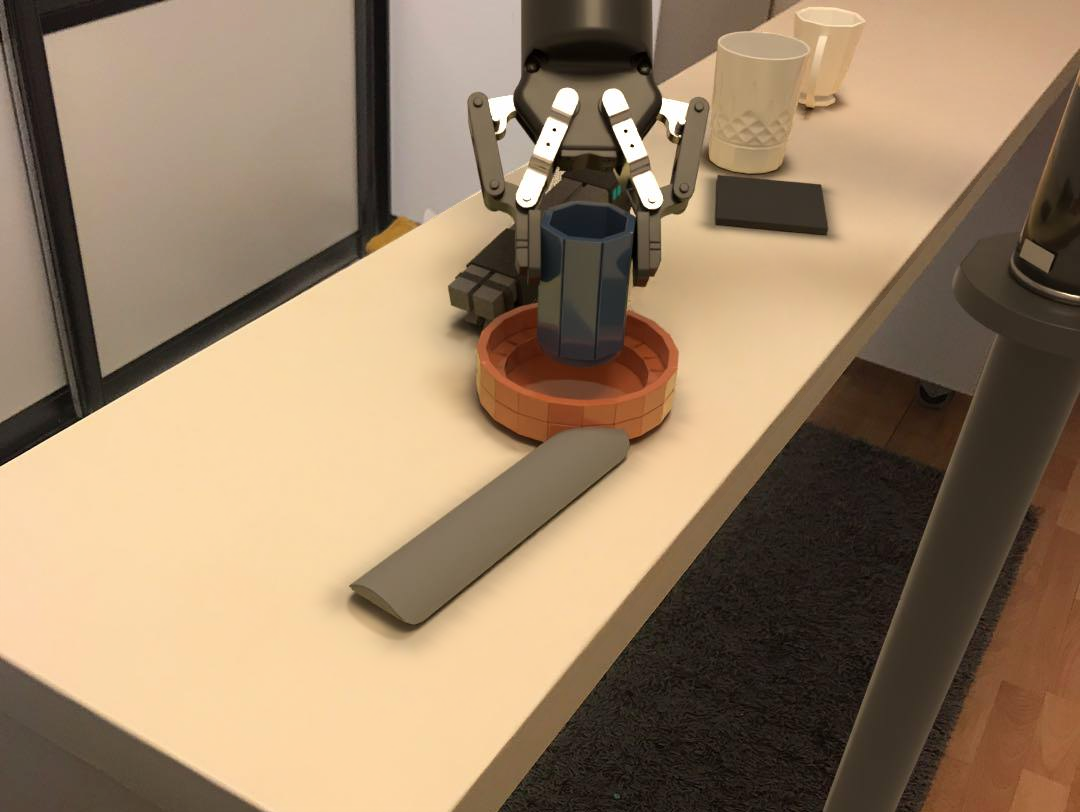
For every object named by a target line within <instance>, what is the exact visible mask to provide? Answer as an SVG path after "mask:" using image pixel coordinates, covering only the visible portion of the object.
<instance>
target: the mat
mask: <svg viewBox="0 0 1080 812" xmlns="http://www.w3.org/2000/svg"><path fill="white" fill-rule="evenodd" d="M715 197H716V199H715V225H720V226H731V227H742V228H752V229H761V230H772V231H783V232H793V233H801V234H802V233H804V234H815V235H824V236H827V235H828V231H829V225H828V219H827V212H826V206H825V199H824V194H823V187H822V184H820V183H809V182H799V181H787V180H780V179H779V180H778V179H768V178H767V179H766V178H756V177H745V176H734V175H723V174H717V177H716V193H715Z"/></svg>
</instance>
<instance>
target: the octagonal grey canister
mask: <svg viewBox="0 0 1080 812" xmlns="http://www.w3.org/2000/svg"><path fill="white" fill-rule="evenodd" d="M635 217H636V216H635V214H632V213H631V212H630V213H628V212H626V211H625V210H623V209H621V208H619V207H617V206H615V205H614V204H611V205H610V203H601V202H589V201H576V202H575V201H571V202H567V203H564V204H561V205H557V206H554V207H550V208H547V209H546V210H545V211H544V214H543V217H542V220H541V280H540V285H538V298H537V303H538V314H537V341H538V343H539V344H540V347H541V350H542V351H543V353H544V354H545V355H546V356H547V357H548V358H550V359H552V360H553V361H555V362H558V363H560V364H564V365H568V366H573V367H595V366H600V365H604V364H607V363H609V362H611V361H613V360H614V359H616V358H617V357H618V356H619V355H620V353H621V351H622V349H623V347H624V340H625V334H626V324H627V313H628V309H629V301H630V289H631V279H632V257H633V246H634V235H635V224H636V218H635Z"/></svg>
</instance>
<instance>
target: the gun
mask: <svg viewBox="0 0 1080 812" xmlns="http://www.w3.org/2000/svg"><path fill="white" fill-rule="evenodd" d="M560 178H561V179H560V180H559V181H558V182H557V183H556V184H555V185H554V186H553V187H552V188H550V190H548V191H546V193H545V195H544V197H543V200H542V202H541V204H540V207H539V209H538V210H541V220H542V217H543V214H544V211H545V210H546V209H547V208H550V207H554V206H557V205H561V204H564V203H567V202H571V201H575V202H576V201H589V202H601V203H610V205H611V204H614V205H615V206H617V207H619V208H621V209H623V210H625V211H626V212H628V213H630V214H631V210H632V207H631V204H630V202H629V200H628V198H627V195H626V193H625V192H623V191H622V189H621V187H620V185H619V183H618V180H617V178H616V176H615V174H614V171H613V172H598V171H595V170H591V169H588V168H584V169H580V170H576V171H563V173H562V174H561V176H560ZM465 266H466V269H464V270H463V271H460V272H459V273H458V274H457V275H456V276H455V277H454V280H452V282H450V283H449V284H448V285H447V291H448V296H449V302H450V306H451V307H454V308H457V309H460V310H463V311H465V312H467V315H466V318H465V322H468V323H470V324H473V325H476V326H479V327H483V329H485V328H486V327H487V326H488V325H489V324H490V323H491V322H492V321H493V320H494V319H495V318H496V317H498V316H500V315H502V314H504V313H506V312H509V311H511V310H513V309H515V308H517V307H520V306H524V305H529V304H533V303H536V301H537V300H538V285H527V275H519V274H518V272H517V269H516V267H515V222H514V223H513V224H512V225H511V226H510V227H506V228H505V229H503V231H501V232H500V233H499V234H498V235H497V236H496V237H495V238H493V240H491V241H490V242H489V243H488V244H487V245H486V246H484V248H483V249H481V251H480V252H478V253H477V255H475V256H474V257H473V258H472V259H471V260H470V261H469V262H468V263H466V265H465Z"/></svg>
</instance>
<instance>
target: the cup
mask: <svg viewBox="0 0 1080 812" xmlns="http://www.w3.org/2000/svg"><path fill="white" fill-rule="evenodd" d="M793 19H794V20H793V23H794V24H793V37H794V38H796V39H799V40H801V41H803V42H805V43H806V44H807V45H808V46H809V47H810V54H809V58H808V63H807V67H806V71H805V75H804V79H803V84H802V88H801V92H800V96H799V101H798V104H802V105H805V107H806V108H812V109H814V108H815V107H829V106H830V105H832V104H835V102H836V97H835V96H834V94H835V93H837V92H838V91H839V90H840V88H841V86H842V84H843V82H844V79H845V78H846V76H847V73H848V71H849V69H850V66H851V63H852V60H853V57H854V55H855V52H856V49H857V47H858V44H859V42H860V39H861V36H862V33H863V31H864V28H865V25H866V23H867V21H866V20H865V19H864V18H863V16H861V15H860V14H859V13H857V12H854V11H850V10H848V9H847V10H846V9H843V8H839V7H833V6H832V7H831V6H830V7H829V6H808V7H806V8H803V9H802V8H801V9H800V10H797V11H794V18H793Z"/></svg>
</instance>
